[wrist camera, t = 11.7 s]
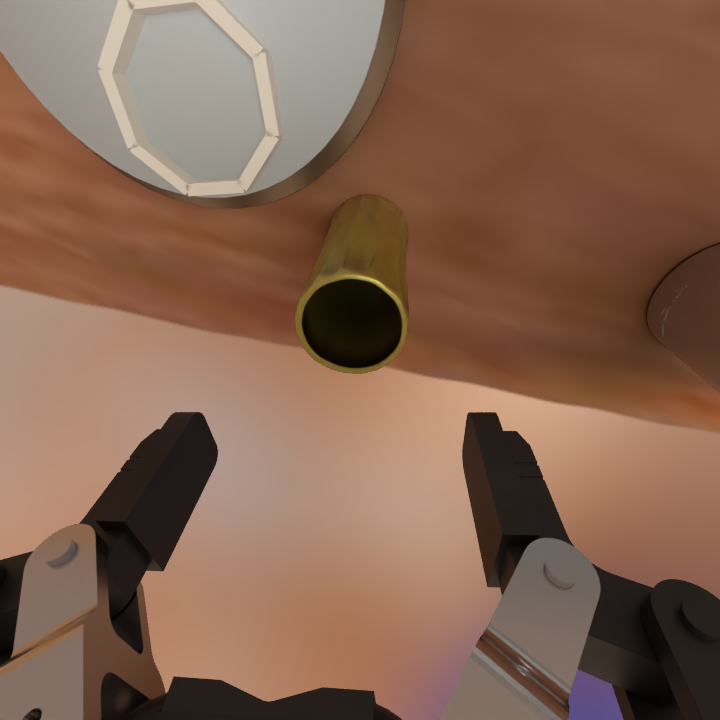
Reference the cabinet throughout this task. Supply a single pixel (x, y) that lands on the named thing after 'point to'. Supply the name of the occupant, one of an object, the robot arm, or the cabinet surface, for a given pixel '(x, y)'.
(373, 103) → the turntable base
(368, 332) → the vase
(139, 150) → the turntable
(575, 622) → the robot arm
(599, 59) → the cabinet surface
